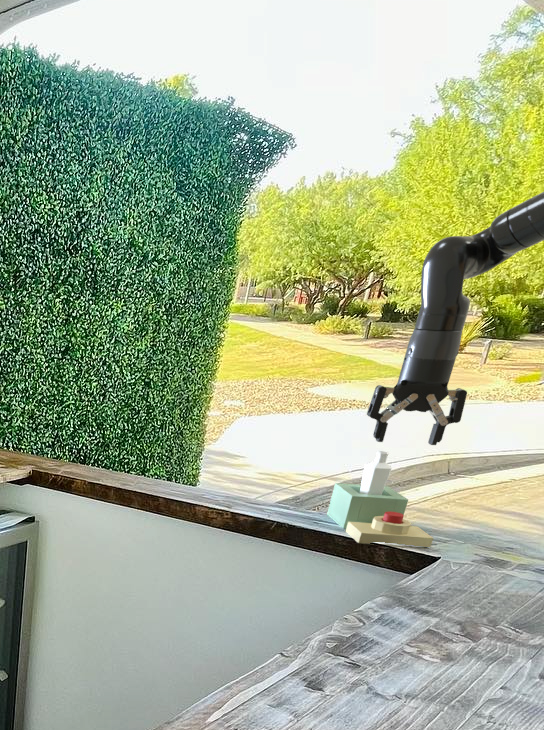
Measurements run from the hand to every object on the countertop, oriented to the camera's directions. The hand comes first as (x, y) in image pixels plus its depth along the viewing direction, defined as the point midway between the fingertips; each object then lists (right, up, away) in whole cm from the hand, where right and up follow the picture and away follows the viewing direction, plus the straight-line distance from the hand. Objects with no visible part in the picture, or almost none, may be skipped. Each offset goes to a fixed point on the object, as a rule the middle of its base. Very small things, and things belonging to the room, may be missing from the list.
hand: (405, 442), depth 146 cm
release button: (-2, -15, +1) cm, 15 cm away
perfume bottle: (0, -15, +12) cm, 19 cm away
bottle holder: (0, -15, +12) cm, 19 cm away
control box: (-2, -19, +3) cm, 19 cm away
